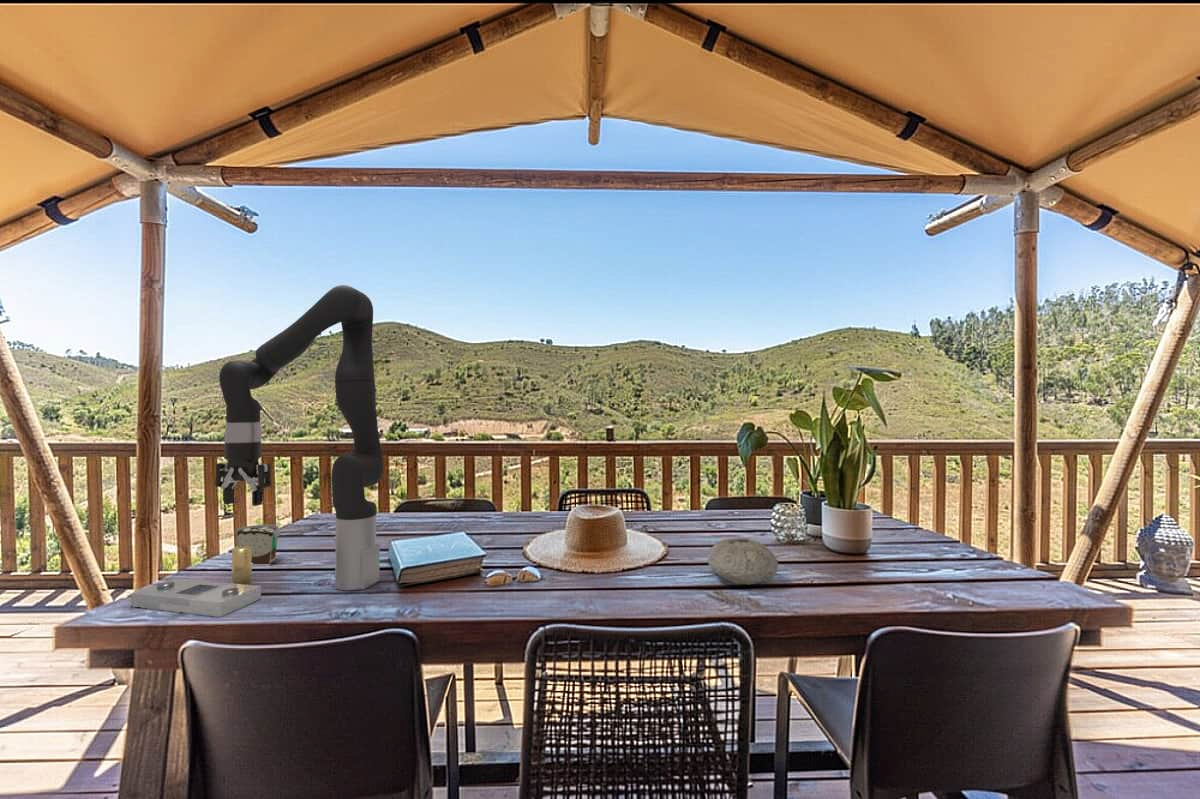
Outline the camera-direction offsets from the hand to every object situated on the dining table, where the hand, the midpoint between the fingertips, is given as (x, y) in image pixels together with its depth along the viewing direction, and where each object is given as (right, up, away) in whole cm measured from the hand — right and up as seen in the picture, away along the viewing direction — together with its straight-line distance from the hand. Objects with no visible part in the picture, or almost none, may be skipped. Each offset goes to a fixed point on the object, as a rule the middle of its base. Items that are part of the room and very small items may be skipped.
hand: (242, 504), depth 125 cm
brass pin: (0, -20, 0) cm, 20 cm away
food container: (-7, -20, +18) cm, 28 cm away
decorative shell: (+128, -21, +6) cm, 129 cm away
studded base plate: (-2, -20, -12) cm, 23 cm away
